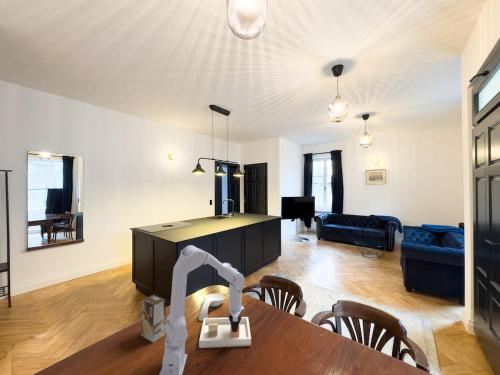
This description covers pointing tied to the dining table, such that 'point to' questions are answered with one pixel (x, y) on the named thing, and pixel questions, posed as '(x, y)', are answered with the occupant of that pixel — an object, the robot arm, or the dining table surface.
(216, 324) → the maple block
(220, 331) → the tray
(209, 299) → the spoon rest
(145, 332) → the coffee box
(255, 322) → the dining table surface
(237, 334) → the terracotta block
